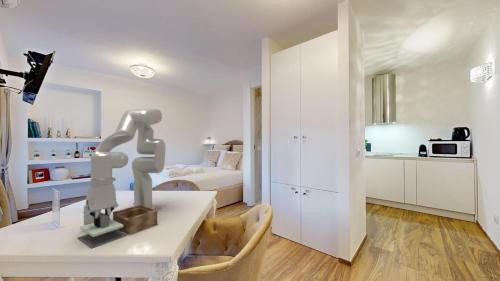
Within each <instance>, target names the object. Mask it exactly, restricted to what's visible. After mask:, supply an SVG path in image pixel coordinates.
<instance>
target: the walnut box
mask: <svg viewBox="0 0 500 281" xmlns="http://www.w3.org/2000/svg"><path fill="white" fill-rule="evenodd" d="M112 220H114V221H116V222H118V223H121V224H123V227H122V228H119V229H118V230H119V231H121V232H123V233H125V234H127V235H130V236H131V235H133V234H136V233H138V232H141V231H144V230H147V229H149V228H152V227H155V226H157V225H158V210H157V209H151V208H148V207H145V206H142V205H137V206H134V205H133V206H129V207H126V208H122V209H120V210H115V211H112Z"/></svg>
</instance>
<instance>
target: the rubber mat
mask: <svg viewBox="0 0 500 281" xmlns="http://www.w3.org/2000/svg"><path fill="white" fill-rule="evenodd" d="M126 236H128V234H127V233H125V232H123V231H121V230H119V229H116V230H113V231H110V232H107V233H104V234H101V235H98V236H95V237H93V236H91V235H89V234H88V233H86V234H84V235H81V236H78V237H76V239H77V240H78V241H80V242H81V243H83V244H84V245H86V246H87V247H88V248H90V249H94V248H97V247H100V246H102V245H104V244H107V243H110V242H113V241H115V240H118V239H122V238H123V237H126Z"/></svg>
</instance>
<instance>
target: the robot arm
mask: <svg viewBox="0 0 500 281" xmlns="http://www.w3.org/2000/svg"><path fill="white" fill-rule="evenodd" d="M162 119H163V113H162V111H161V110H160V109H159V108H135V109H131V110H126V111H124V113H123V115H122V117H121V119H120V121H119V124H118V125H117V128H116V130H115V131H114V132H113V133H112V134H110V135H108V136H107V137H106V138H104V139H103V140H102V141H101V142H100V143H99V144H98V145H97V147H96V149H95V151H94V153H93V154H91V156H90V186H88V187H87V190H86V197H85V204H86V208H85V210H84V209H83V213H82V214H83V215H84V214H86V215H91V216H93V217H94V225H95V226H96V227H100V218H99V210H101V211H102V210H104V214H106V215H108V216H109V221H110V219H111V218H110V215H111V214H112V213H113V212H114V210H115V209H116V208H117V207H119V204H118V202H117V193H116V187H115V185H114V181H116V180H117V179H116V177H113V169H122V168H124V167H126V166H127V165H128V164H129V159H130V158H129V156H128V154H126V153H125V152H122V151H112V150H114V149H115V148H117V147H118V146H120V145H123V144H126V143H128V142H131V141H132V140H133V139H134V138H135V136H136V133H137V140H136V141H137V142H136V151H137V154H139V155H144V156H139V157H135V158H133V160H132V162H131V169H132V173H133V203H132V205H133V207H134V206H137V205H142V206H145V207H148V208H151V209H154V210H156V206H155V205H153V178H152V176H151V175H150V174H158V173H160V174H161V172H163V171H164V170H165V169H164V168H165V163H166V162H165V160H166V143H165V141H164V140H163V139H161V138H154V135H155V134H154V133H155V132H154V129H153V127H152V126H153V125H156V124H159V123H160V122H161V121H162ZM145 155H149V156H145ZM152 155H154V156H152ZM89 210H90V211H93V212H90V211H89Z"/></svg>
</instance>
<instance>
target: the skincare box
mask: <svg viewBox="0 0 500 281" xmlns="http://www.w3.org/2000/svg"><path fill="white" fill-rule="evenodd" d="M85 208H86V203H85V204H84V205H83V211H84V210H85ZM89 211H90V210H89ZM90 212H93V211H90ZM99 213H102V209H101V210H99ZM91 223H94V217H93V216H91V215H86V214H83V226H84V225H88V224H91Z"/></svg>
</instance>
